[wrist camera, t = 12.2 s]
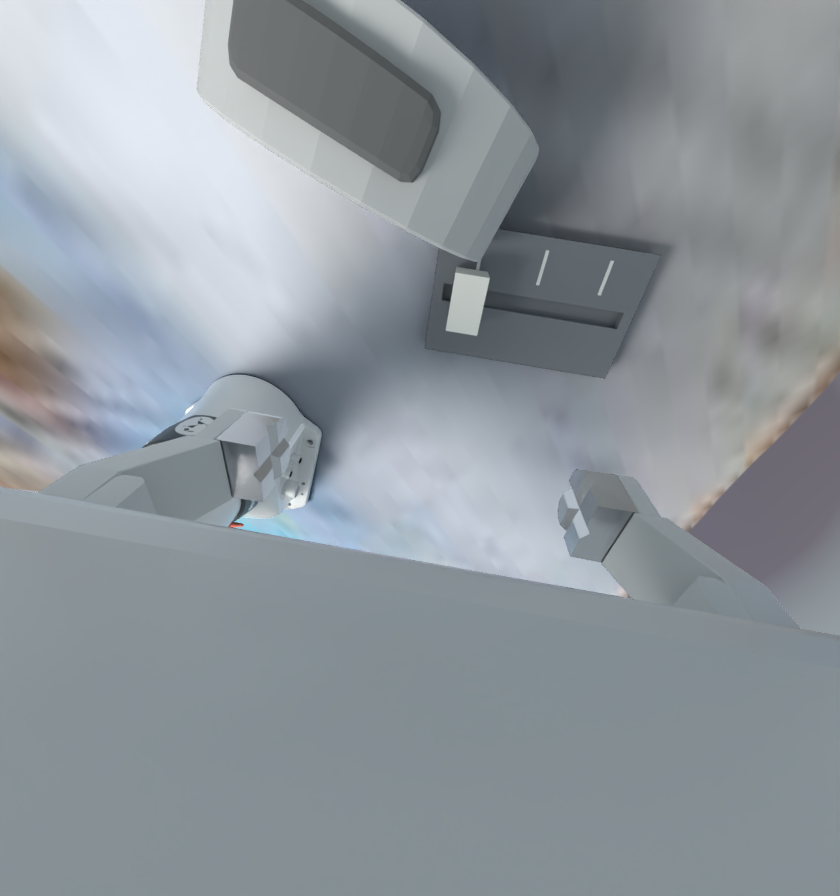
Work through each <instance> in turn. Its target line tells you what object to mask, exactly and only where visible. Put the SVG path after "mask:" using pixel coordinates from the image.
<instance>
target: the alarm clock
mask: <svg viewBox="0 0 840 896" xmlns="http://www.w3.org/2000/svg"><path fill="white" fill-rule="evenodd" d="M197 91H198V94H199V96H200V97H201V99H202V100H203V102H204V103H206V104H207V105H208V106H209V107H210V108H212V109H213V110H214V111H215V112H216V113H218V114H219V115H220V116H221V117H223V118H224V119H225V120H226V121H228V122H229V123H230V124H232V125H233V126H235V127H236V128H237V129H239V130H240V131H242V132H243V133H245V134H246V135H248V136H249V137H250V138H252V139H253V140H255V141H256V142H258V143H259V144H261V145H262V146H264V147H265V148H267V149H268V150H270V151H271V152H273V153H274V154H276V155H278V156H279V157H281V158H282V159H284V160H285V161H287V162H289V163H290V164H292V165H293V166H295V167H296V168H298V169H300V170H301V171H303V172H304V173H306V174H308V175H309V176H311V177H312V178H314V179H316V180H317V181H319V182H321V183H322V184H324V185H326V186H327V187H329V188H331V189H333V190H334V191H336V192H338V193H339V194H341V195H343V196H344V197H346V198H348V199H349V200H351V201H353V202H354V203H356V204H358V205H360V206H361V207H363V208H365V209H367V210H369V211H370V212H372V213H374V214H376V215H378V216H379V217H381V218H383V219H385V220H387V221H388V222H390V223H392V224H394V225H396V226H397V227H399V228H401V229H403V230H405V231H407V232H409V233H411V234H413V235H414V236H416V237H418V238H420V239H422V240H424V241H426V242H428V243H430V244H432V245H434V246H436V247H438V248H440V249H443V250H445V251H447V252H449V253H452V254H454V255H456V256H458V257H461V258H464V259H467V260H471V261H474V262H477V261H479V260H481V259H482V257H483V255H484V253H485V252H486V250H487V248H488V246H489V244H490V243H491V241H492V239H493V237H494V235H495V234H496V232H497V230H498V228H499V226H500V225H501V223H502V221H503V219H504V217H505V216H506V214H507V212H508V210H509V208H510V207H511V205H512V203H513V201H514V199H515V198H516V196H517V194H518V192H519V190H520V189H521V187H522V185H523V183H524V181H525V180H526V178H527V176H528V174H529V172H530V171H531V169H532V167H533V165H534V163H535V162H536V160H537V157H538V153H539V146H538V143H537V141H536V139H535V137H534V135H533V132H532V130H531V129H530V128H529V126H528V125H527V124H526V122H525V121H524V120H523V118H522V117H521V116H520V114H519V113H518V112H517V110H516V109H515V108H514V106H513V105H512V104H511V103H510V101H509V100H508V99H507V98H506V97H505V96H504V95H503V94H502V93H501V92H500V91H499V90H498V89H497V88H496V86H495V85H494V84H493V83H492V82H491V81H490V80H489V79H488V78H487V77H486V76H485V75H484V74H483V73H482V72H481V71H480V70H479V69H478V67H477V66H476V65H475V64H474V63H473V62H471V61H470V60H469V59H468V58H467V57H466V56H465V55H464V54H463V53H462V52H460V51H459V50H458V49H457V48H456V47H455V46H454V45H453V44H452V43H451V42H449V41H448V40H447V39H446V38H445V37H444V36H443V35H442V34H441V33H439V32H438V31H437V30H436V29H435V28H434V27H433V26H432V25H431V24H430V23H428V22H427V21H426V20H425V19H424V18H423V17H421V16H420V15H419V14H418V13H416V12H415V11H414V10H413V9H411V8H410V7H409V6H408V5H406V4H405V3H404V2H403V1H401V0H206V2H205V12H204V22H203V32H202V42H201V52H200V62H199V72H198V82H197Z"/></svg>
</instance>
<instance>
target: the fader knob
mask: <svg viewBox="0 0 840 896" xmlns="http://www.w3.org/2000/svg"><path fill="white" fill-rule="evenodd" d="M489 280H490V277H489V274H488V272H486V271H480V270H474V269H467V268H461V267H456V272H455V278H454V284H453V290H452V296H451V302H450V307H449V313H448V319H447V325H446V331H450V332H456V333H462V334H468V335H474V336H477V334H478V329H479V325H480V320H481V316H482V311H483V307H484V302H485V298H486V293H487V289H488V284H489Z"/></svg>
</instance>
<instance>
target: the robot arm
mask: <svg viewBox="0 0 840 896" xmlns="http://www.w3.org/2000/svg"><path fill="white" fill-rule="evenodd" d="M321 437H322V433H321V431H320V429H319V428H318V427H317V426H316V425H314V424H313V423H312V422H310V421H309V420H308V419H306V418H305V417H304V416H303V415H302V414H301V413H300V411H299V410H298V408H297V407H296V406H295V404H294V403H293V402H292V401H291V400H290V398H289V397H288V396H287V395H285V394H284V393H283V392H282V391H281V390H279V389H278V388H277V387H275V386H273V385H272V384H270V383H268V382H266V381H264V380H261V379H259V378H256V377H252V376H248V375H229V376H225V377H222V378H220V379H218V380H216V381H215V382H214V383H213V384H212V385H211V386H210V387H209V388H208V390H207V391H206V393H205V394H204V395H203V397H202V398H201V399H200V400H199V401H197V402H195V403H194V404H192V405H191V406H190V407H189V408H188V409H187V410H186V412H185V415H184V416H183V417H182V418H181V419H180V420H179V421H178V422H177V423H176V424H174V425H173V426H171V427H169V428H167V429H165V430H164V431H163V432H161V433H160V434H159V435H157V436H156V437H155V438H154V439H151V440H150V441H149V442H147V443H146V445H145V446H143V447H142V448H140V449H137V450H133V451H130V452H126V453H122V454H119V455H115V456H112V457H108V458H104V459H101V460H97V461H94V462H90V463H86V464H83V465H80V466H78V467H77V468H75V469H74V470H72V471H70V472H69V473H67V474H66V475H64V476H63V477H61V478H60V479H58V480H57V481H55V482H53V483H52V484H50V485H49V486H47V487H46V488H44V489H43V490H41V491H39V492H38V493H33V492H28V491H22V490H17V489H11V488H6V487H0V896H840V636H839V635H834V634H828V633H822V632H816V631H811V630H805V629H801V628H800V627H799V626H798V625H797V624H796V622H795V621H794V620H793V619H792V617H791V616H790V615H789V614H788V613H787V611H786V610H785V609H784V608H783V607H782V605H781V604H780V603H779V601H778V600H777V599H776V598H775V596H774V595H773V594H772V593H771V592H770V590H769V589H768V588H767V587H766V586H765V585H763V584H762V583H761V582H759V581H758V580H756V579H755V578H753V577H751V576H750V575H749V574H747V573H746V572H745V571H743V570H742V569H740V568H739V567H737V566H736V565H734V564H733V563H731V562H730V561H728V560H727V559H726V558H724V557H723V556H721V555H720V554H718V553H717V552H715V551H714V550H712V549H711V548H709V547H708V546H707V545H705V544H704V543H702V542H700V541H699V540H698V539H696V538H695V537H693V536H692V535H691V534H689V533H688V532H686V531H685V530H683V529H682V528H680V527H679V526H677V525H676V524H674V523H673V522H672V521H670V520H669V519H667V518H661V516H660V515H659V513H658V512H657V510H656V509H655V507H654V506H653V504H652V503H651V501H650V500H649V498H648V497H647V495H646V493H645V492H644V490H643V489H642V487H641V486H640V484H639V483H638V481H637V480H636V479H635V478H633V477H629V476H622V475H615V474H607V473H600V472H593V471H587V470H580V469H576V470H575V471H574V472H573V473H572V475H571V477H570V479H569V482H570V485H571V487H572V488H570V489H568V490H567V491H565V492H563V494H562V497H561V499H560V501H559V507H558V519H559V522H560V525H561V526H562V527H563V528H564V529H565V530H566V531H567V532H566V534H565V536H564V539H565V542H566V545H567V548H568V552H569V555H570V556H571V557H576V558H581V559H586V560H591V561H596V562H601V563H602V565H603V566H604V568H605V569H606V570H607V571H608V572H609V573H610V574H611V575H612V577H613V578H614V579H615V580H616V581H617V582H618V583H619V584H620V586H621V587H622V588H623V589H624V590H625V591H626V592H627V593H628V595H629V596H630V597H631V598H632V599H630V598H625V597H619V596H613V595H608V594H602V593H597V592H591V591H585V590H580V589H574V588H568V587H563V586H557V585H551V584H546V583H540V582H534V581H529V580H523V579H518V578H512V577H506V576H501V575H495V574H489V573H484V572H478V571H472V570H467V569H461V568H455V567H450V566H444V565H439V564H433V563H427V562H422V561H416V560H411V559H405V558H399V557H394V556H388V555H383V554H377V553H372V552H366V551H360V550H355V549H349V548H343V547H338V546H332V545H326V544H321V543H315V542H309V541H304V540H298V539H293V538H287V537H281V536H276V535H270V534H264V533H259V532H253V531H247V530H242V529H237V528H233V527H242V526H243V525H244V524H242V523H236V522H234V521H236V520H237V519H239V518H240V517H247V518H255V519H268V518H273V517H276V516H278V515H280V514H281V513H282V512H283V511H284V509H294V508H299V507H302V506H304V505H305V504H306V503H307V502H308V499H309V495H310V490H311V485H312V480H313V476H314V471H315V466H316V461H317V457H318V452H319V447H320V442H321ZM309 440H312V441H313V442H310V441H309ZM289 502H290V503H289Z"/></svg>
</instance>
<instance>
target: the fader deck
mask: <svg viewBox="0 0 840 896" xmlns="http://www.w3.org/2000/svg"><path fill="white" fill-rule="evenodd" d="M660 257H661V255H657V254H652V253H646V252H640V251H634V250H628V249H621V248H615V247H609V246H603V245H596V244H590V243H584V242H578V241H572V240H565V239H559V238H553V237H547V236H541V235H534V234H528V233H522V232H516V231H510V230H503V229H498V230H497V232H496V234H495V235H494V237H493V239H492V241H491V243H490V244H489V246H488V248H487V250H486V252H485V253H484V255H483V257H482V259H481V260H479V261H477V262H474V261H471V260H467V259H464V258H461V257H458V256H456V255H454V254H452V253H449V252H447V251H445V250H443V249H440V248H439V251H438V258H437V265H436V272H435V279H434V286H433V293H432V300H431V307H430V314H429V321H428V328H427V335H426V342H425V348H426V349H432V350H438V351H443V352H449V353H455V354H461V355H467V356H473V357H479V358H485V359H491V360H497V361H503V362H509V363H515V364H521V365H527V366H533V367H539V368H545V369H551V370H556V371H562V372H568V373H574V374H580V375H586V376H592V377H598V378H604V379H605V378H606V375H607V373H608V371H609V369H610V367H611V364H612V362H613V360H614V358H615V356H616V353H617V351H618V349H619V347H620V345H621V342H622V340H623V338H624V336H625V334H626V332H627V329H628V327H629V325H630V323H631V321H632V318H633V316H634V314H635V312H636V310H637V307H638V305H639V303H640V301H641V299H642V296H643V294H644V292H645V290H646V288H647V285H648V283H649V281H650V279H651V277H652V274H653V272H654V270H655V268H656V266H657V263H658V261H659V259H660ZM456 267H461V268H467V269H474V270H480V271H486V272H488V274H489V277H490V280H489V284H488V289H487V293H486V298H485V302H484V307H483V311H482V316H481V320H480V325H479V329H478V334H477V336H474V335H468V334H462V333H456V332H450V331H446V325H447V319H448V313H449V307H450V302H451V296H452V290H453V284H454V278H455V272H456Z"/></svg>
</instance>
